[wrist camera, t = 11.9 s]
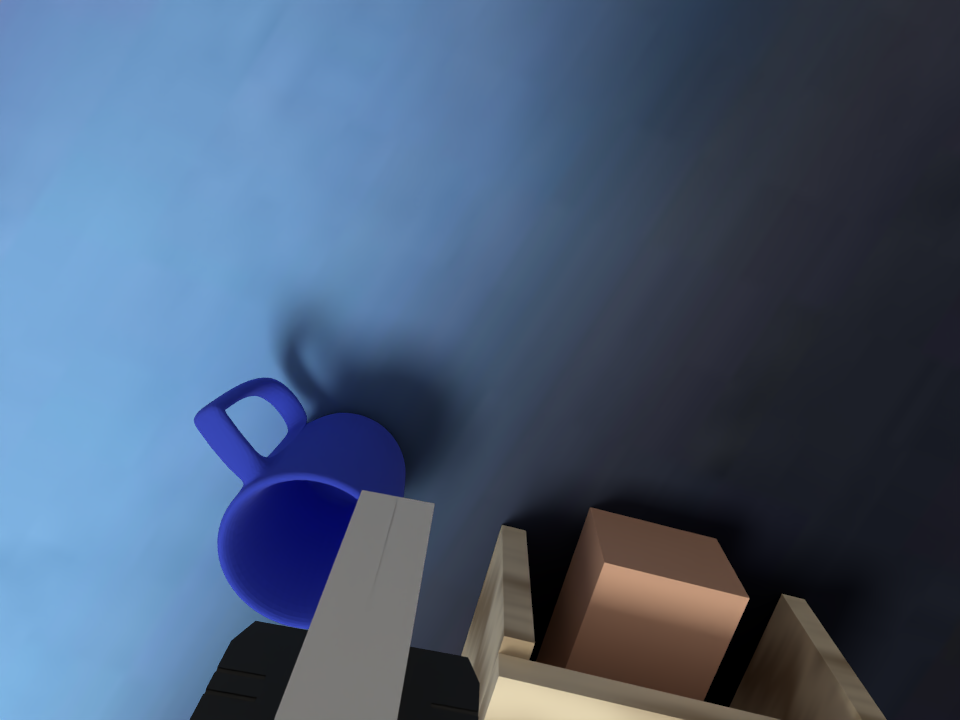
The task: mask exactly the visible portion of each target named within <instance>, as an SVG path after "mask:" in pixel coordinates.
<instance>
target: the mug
mask: <svg viewBox="0 0 960 720" xmlns="http://www.w3.org/2000/svg"><path fill="white" fill-rule="evenodd" d="M249 396H259V397H261V398H264V399H265V400H267V401H268V402H270V403H271V404H272V405H273V406H274V407H275V408H276V409H277V410H278V412H279V413H280V414H281V416H282V417H283V419H284V420H285V422H286V424H287V427H288V433H287V435H286V437H285V438H284V439H283V440H282V442H281V443H280V444H279V445H278V446H277V447H276V448H275V450H274V451H273V452H272V453H271V454H270V455H269V456H268V457H263V456H261V455H260V454H258V453H257V452H256V451H255V450H254V448H253V447H252V446H251V445H250V443H249V442H248V441H247V440H246V439H245V437H244V436H243V435H242V434H241V433H240V431H239V430H238V429H237V427H236V426H235V425H234V423H233V422H232V420H231V419H230V418H229V416H228V415H227V414H226V412H225V410H226V409H227V408H228V407H230V406H231V405H233V404H234V403H236V402H237V401H239V400H241V399H243V398H245V397H249ZM306 422H307V416H306V413H305V411H304V409H303V407H302V405H301V403H300V402H299V400H298V399H297V397H296V396H295V395H294V394H293V393H292V392H291V391H290V390H289V389H288V388H287V387H286V386H285V385H284V384H282V383H281V382H279V381H277V380H275V379H272V378H257V379H254V380H250V381H247V382H245V383H242V384H240V385H238V386H236V387H235V388H233V389H231V390H229V391H228V392H226V393H224V394H223V395H221V396H220V397H218V398H217V399H215V400H214V401H212V402H211V403H209V404H208V405H206V406H205V407H204V408H202V409H201V410H200V411H199V412H198V413H197V414H196V416H195V418H194V423H195V425H196V427H197V429H198V430H199V432H200V433H201V434H202V436H203V437H204V438H205V440H206V441H207V442H208V444H209V445H210V446H211V448H212V449H213V450H214V451H215V452H216V454H217V455H218V456H219V457H220V458H221V460H222V461H223V462H224V463H225V464H226V465H227V467H228V468H229V469H230V470H232V471H233V472H234V473H235V474H236V475H237V476H238V477H239V478H240V479H241V480H242V481H243V483H244V485H243V487H242V489H241V490H240V492H239V493H238V494H237V496H236V497H235V498H234V499H233V501H232V502H231V503H230V505H229V506H228V508H227V510H226V512H225V514H224V516H223V518H222V521H221V524H220V527H219V533H218V555H219V561H220V564H221V568H222V570H223V573H224V575H225V577H226V579H227V581H228V583H229V584H230V585H231V587H232V588H233V590H234V591H235V592H236V594H237V595H238V596H239V597H240V598H241V599H242V600H243V601H244V602H245V603H246V604H247V605H248V606H250V607H251V608H252V609H254V610H255V611H256V612H258V613H259V614H261V615H263V616H265V617H266V618H269V619H271V620H273V621H275V622H278V623H281V624H283V625H287V626H291V627H296V628H302V629H309V627H310V624H311V622H312V619H313V617H314V614H315V611H316V609H317V606H318V604H319V601H320V598H321V596H322V593H323V591H324V588H325V585H326V583H327V580H328V577H329V575H330V572H331V570H332V567H333V564H334V562H335V559H336V557H337V554H338V551H339V549H340V546H341V543H342V541H343V538H344V536H345V533H346V530H347V528H348V525H349V523H350V520H351V517H352V515H353V512H354V510H355V507H356V504H357V502H358V499H359V496H360V494H361V491H362V490H365V491H370V492H376V493H381V494H386V495H391V496H397V497H402V498H404V488H405V476H406V471H405V462H404V458H403V455H402V452H401V449H400V447H399V445H398V443H397V442H396V440H395V439H394V437H393V436H392V435H391V434H390V433H389V432H388V431H387V430H386V429H385V428H384V427H383V426H382V425H380V424H379V423H377V422H376V421H374V420H372V419H370V418H368V417H365V416H362V415H358V414H353V413H335V414H330V415H326V416H323V417H321V418H318V419H316V420H314V421H312V422H310V423H306Z"/></svg>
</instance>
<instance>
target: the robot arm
mask: <svg viewBox="0 0 960 720" xmlns="http://www.w3.org/2000/svg"><path fill="white" fill-rule="evenodd" d="M433 510H434V503H429V502H423V501H418V500H413V499H407V498H402V497H397V496H391V495H386V494H381V493H376V492H370V491H365V490H362V491H361V494H360V496H359V499H358V502H357V504H356V507H355V510H354V512H353V515H352V517H351V520H350V523H349V525H348V528H347V530H346V533H345V536H344V538H343V541H342V543H341V546H340V549H339V551H338V554H337V557H336V559H335V562H334V564H333V567H332V570H331V572H330V575H329V577H328V580H327V583H326V585H325V588H324V591H323V593H322V596H321V598H320V601H319V604H318V606H317V609H316V611H315V614H314V617H313V619H312V622H311V624H310V627H309V630H303V629H297V628H292V627H286V626H281V625H275V624H270V623H264V622H259V621H255V622H254V623H252V624H251V625H250V626H249V627H248V628H246V629H245V630H244V631H243V632H241V633H240V634H239V635H238V636H237V637H235V638H234V639H233V640H232V641H231V642H230V644H229V646H228V648H227V650H226V652H225V654H224V656H223V658H222V659H221V661H220V663H219V665H218V668H217V671H216V672H215V673H214V675H213V677H212V678H211V680H210V682H209V684H208V686H207V688H206V692H205V694H203V696H202V697H201V699H200V701H199V703H198V705H197V707H196V709H195V711H194V713H193V715H192V716H191V718H190V720H478V719H479V716H478V712H479V690H480V683H479V680H478V678H477V676H476V674H475V671H474V669H473V667H472V665H471V662H470V660H469V658H468V657H464V656H458V655H453V654H447V653H442V652H436V651H431V650H425V649H420V648H414V647H410V643H411V637H412V631H413V625H414V620H415V614H416V608H417V602H418V597H419V591H420V585H421V579H422V574H423V568H424V562H425V556H426V551H427V545H428V539H429V533H430V527H431V522H432V516H433Z"/></svg>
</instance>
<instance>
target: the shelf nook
mask: <svg viewBox="0 0 960 720" xmlns="http://www.w3.org/2000/svg"><path fill="white" fill-rule="evenodd" d="M534 644H535V638H534V626H533V613H532V600H531V588H530V575H529V563H528V550H527V538H526V531H525V530H521V529H517V528H513V527H509V526H505V525H502V527H501V530H500V533H499V536H498V539H497V543H496V546H495V549H494V552H493V555H492V559H491V562H490V565H489V568H488V572H487V575H486V578H485V581H484V584H483V588H482V591H481V594H480V597H479V600H478V604H477V607H476V610H475V613H474V616H473V620H472V623H471V626H470V629H469V632H468V636H467V639H466V642H465V645H464V648H463V652H462V655H461V656H464V657H468V658H469V660H470V662H471V665H472V667H473V669H474V671H475V674H476V676H477V678H478V680H479V683H480V690H479V712H478V716H479V719H478V720H886V718H885V717H884V715H883V714H882V712H881V711H880V709H879V708H878V707H877V705H876V704H875V702H874V701H873V699H872V698H871V696H870V695H869V693H868V692H867V690H866V689H865V687H864V686H863V685H862V683H861V682H860V680H859V679H858V677H857V676H856V674H855V673H854V671H853V670H852V668H851V667H850V665H849V664H848V662H847V661H846V660H845V658H844V657H843V655H842V654H841V652H840V651H839V649H838V648H837V646H836V645H835V643H834V642H833V640H832V639H831V638H830V636H829V635H828V633H827V632H826V630H825V629H824V627H823V626H822V624H821V623H820V621H819V620H818V618H817V617H816V615H815V614H814V613H813V611H812V610H811V608H810V607H809V605H808V604H807V602H806V601H805V599H801V598H797V597H793V596H789V595H785V594H782V595H781V597H780V599H779V601H778V603H777V605H776V607H775V610H774V612H773V614H772V616H771V618H770V620H769V623H768V625H767V627H766V629H765V631H764V633H763V635H762V638H761V640H760V642H759V644H758V646H757V648H756V650H755V653H754V655H753V657H752V659H751V661H750V663H749V666H748V668H747V670H746V672H745V674H744V676H743V678H742V681H741V683H740V685H739V687H738V689H737V691H736V694H735V696H734V698H733V700H732V702H731V704H730V706H729V707H725V706H721V705H717V704H712V703H708V702H704V701H700V700H695V699H691V698H687V697H683V696H679V695H674V694H670V693H666V692H662V691H657V690H653V689H649V688H645V687H640V686H636V685H632V684H628V683H623V682H619V681H615V680H611V679H606V678H602V677H598V676H594V675H590V674H585V673H581V672H577V671H573V670H568V669H564V668H560V667H556V666H551V665H547V664H543V663H539V662H534V661H530V660H529V659H530V656H531V653H532V650H533V647H534Z"/></svg>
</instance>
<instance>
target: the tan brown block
mask: <svg viewBox="0 0 960 720" xmlns="http://www.w3.org/2000/svg"><path fill="white" fill-rule="evenodd" d="M749 599H750V598H749V596H748V595H747V593H746V591H745V589H744V587H743V586H742V584H741V582H740V580H739V578H738V577H737V575H736V573H735V571H734V569H733V568H732V566H731V564H730V562H729V561H728V559H727V557H726V555H725V553H724V552H723V550H722V548H721V546H720V544H719V543H718V541H717V539H715V538H711V537H707V536H703V535H699V534H695V533H691V532H687V531H683V530H679V529H675V528H671V527H667V526H663V525H659V524H655V523H651V522H647V521H643V520H639V519H635V518H631V517H627V516H623V515H619V514H615V513H611V512H607V511H603V510H599V509H595V508H591V507H590V509H589V512H588V515H587V517H586V520H585V523H584V526H583V529H582V532H581V534H580V537H579V540H578V543H577V546H576V549H575V552H574V554H573V557H572V560H571V563H570V566H569V569H568V571H567V574H566V577H565V580H564V583H563V586H562V588H561V591H560V594H559V597H558V600H557V603H556V605H555V608H554V611H553V614H552V617H551V620H550V622H549V625H548V628H547V631H546V634H545V637H544V640H543V642H542V645H541V648H540V651H539V654H538V657H537V659H536V662H539V663H543V664H547V665H551V666H556V667H560V668H564V669H568V670H573V671H577V672H581V673H585V674H590V675H594V676H598V677H602V678H606V679H611V680H615V681H619V682H623V683H628V684H632V685H636V686H640V687H645V688H649V689H653V690H657V691H662V692H666V693H670V694H674V695H679V696H683V697H687V698H691V699H695V700H700V701H704V699H705V696H706V694H707V692H708V690H709V687H710V685H711V683H712V681H713V679H714V676H715V674H716V672H717V670H718V667H719V665H720V663H721V661H722V659H723V656H724V654H725V652H726V650H727V647H728V645H729V643H730V641H731V639H732V636H733V634H734V632H735V630H736V627H737V625H738V623H739V621H740V619H741V616H742V614H743V612H744V610H745V607H746V605H747V603H748V601H749Z"/></svg>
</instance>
